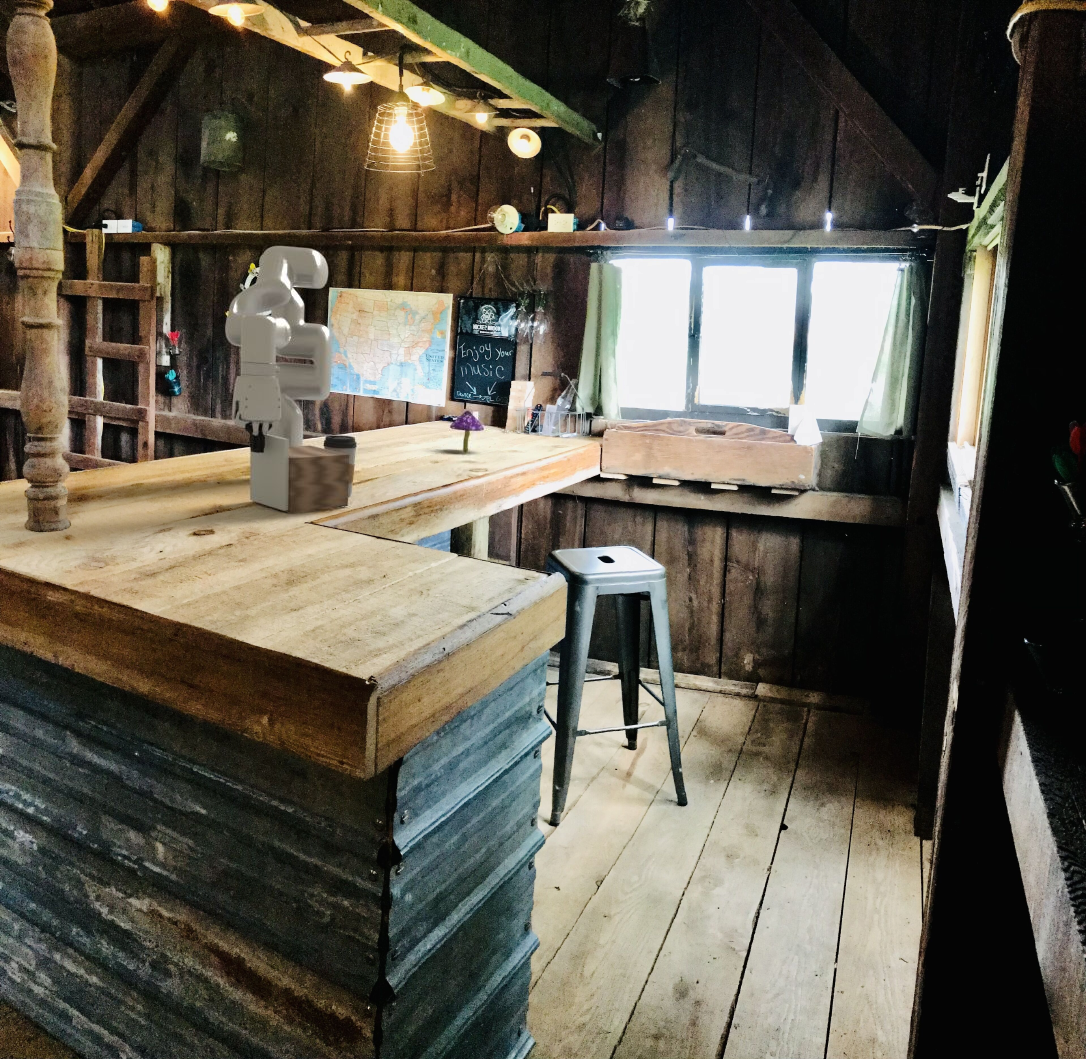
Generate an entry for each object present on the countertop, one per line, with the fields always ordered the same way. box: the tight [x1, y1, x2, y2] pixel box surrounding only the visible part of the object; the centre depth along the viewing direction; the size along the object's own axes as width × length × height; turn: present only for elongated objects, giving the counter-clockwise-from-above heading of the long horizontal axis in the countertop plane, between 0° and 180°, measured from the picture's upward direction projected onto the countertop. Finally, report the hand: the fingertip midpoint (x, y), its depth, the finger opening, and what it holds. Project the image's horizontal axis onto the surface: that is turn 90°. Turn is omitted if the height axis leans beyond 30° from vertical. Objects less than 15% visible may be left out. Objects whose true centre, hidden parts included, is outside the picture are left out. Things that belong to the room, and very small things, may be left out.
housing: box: [252, 444, 349, 514], centre depth 219 cm, size 16×16×13 cm
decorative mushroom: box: [449, 410, 485, 453], centre depth 331 cm, size 12×12×15 cm
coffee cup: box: [323, 434, 358, 498], centre depth 233 cm, size 8×8×15 cm
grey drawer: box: [249, 434, 289, 512], centre depth 218 cm, size 16×14×16 cm
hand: (257, 451), depth 209 cm, fingers closed
